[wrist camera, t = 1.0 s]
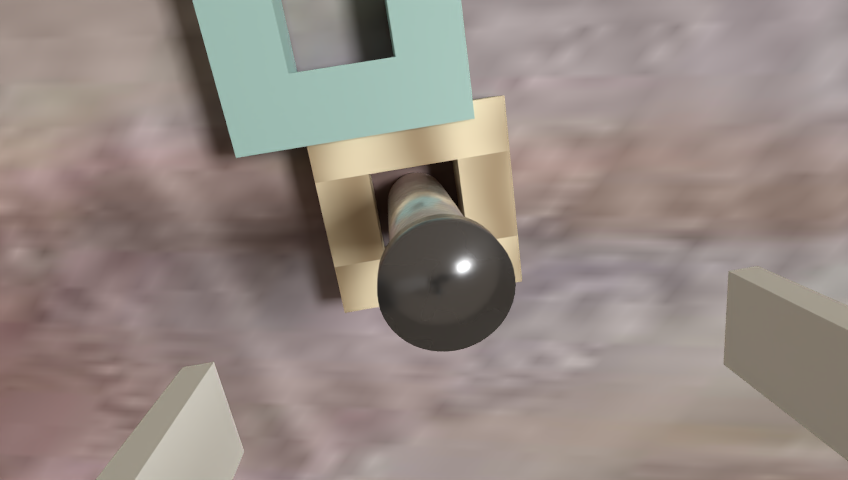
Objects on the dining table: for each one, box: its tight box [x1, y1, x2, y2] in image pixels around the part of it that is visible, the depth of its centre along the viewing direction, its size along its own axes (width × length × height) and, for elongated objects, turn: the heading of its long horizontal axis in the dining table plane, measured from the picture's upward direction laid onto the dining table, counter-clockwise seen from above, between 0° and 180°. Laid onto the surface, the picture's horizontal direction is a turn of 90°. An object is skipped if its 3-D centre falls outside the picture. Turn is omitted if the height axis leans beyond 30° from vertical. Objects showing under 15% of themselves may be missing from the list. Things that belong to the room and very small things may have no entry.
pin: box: [377, 173, 516, 351], centre depth 23 cm, size 5×5×15 cm
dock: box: [192, 0, 475, 158], centre depth 26 cm, size 14×14×3 cm
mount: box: [307, 96, 522, 313], centre depth 29 cm, size 12×12×2 cm
